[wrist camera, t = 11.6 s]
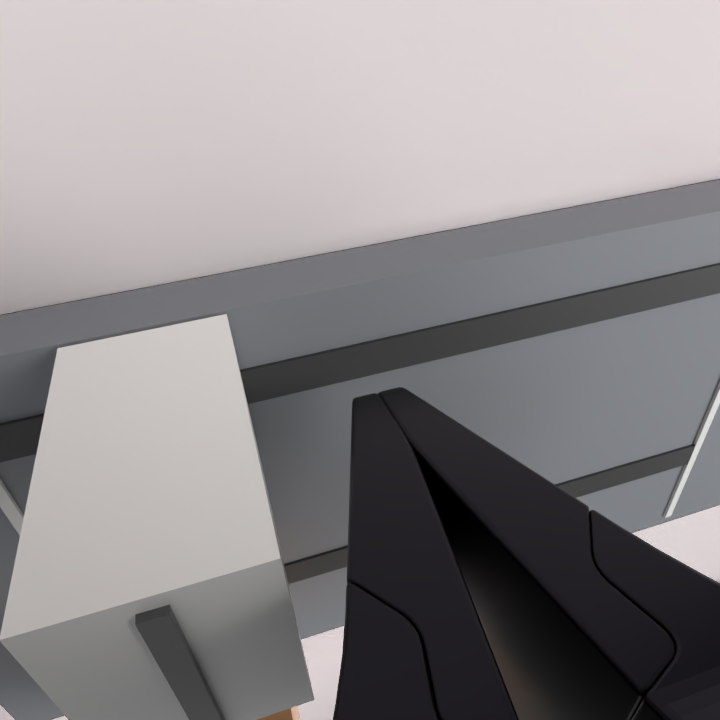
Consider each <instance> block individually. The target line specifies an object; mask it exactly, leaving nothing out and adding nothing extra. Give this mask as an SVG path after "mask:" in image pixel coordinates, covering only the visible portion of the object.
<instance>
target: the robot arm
mask: <svg viewBox="0 0 720 720" xmlns="http://www.w3.org/2000/svg"><path fill="white" fill-rule="evenodd" d="M333 720H720V583H718V582H716V581H715V580H713V579H711V578H709V577H707V576H705V575H703V574H701V573H700V572H698V571H696V570H694V569H692V568H691V567H689V566H687V565H685V564H683V563H682V562H680V561H678V560H676V559H674V558H673V557H671V556H669V555H667V554H665V553H664V552H662V551H660V550H658V549H656V548H655V547H653V546H651V545H650V544H648V543H647V542H645V541H643V540H642V539H640V538H638V537H637V536H635V535H634V534H632V533H630V532H629V531H627V530H625V529H624V528H622V527H620V526H619V525H617V524H616V523H614V522H613V521H611V520H609V519H608V518H606V517H605V516H603V515H602V514H600V513H599V512H597V511H595V510H590V512H589V507H588V506H587V505H586V504H584V503H583V502H581V501H580V500H578V499H576V498H575V497H573V496H572V495H570V494H569V493H567V492H566V491H564V490H562V489H561V488H559V487H558V486H556V485H555V484H553V483H552V482H550V481H548V480H547V479H545V478H544V477H542V476H541V475H539V474H538V473H536V472H534V471H533V470H531V469H530V468H528V467H527V466H525V465H524V464H522V463H520V462H519V461H517V460H516V459H514V458H513V457H511V456H510V455H508V454H506V453H505V452H503V451H502V450H500V449H499V448H497V447H496V446H494V445H492V444H491V443H489V442H488V441H486V440H485V439H483V438H482V437H480V436H479V435H477V434H475V433H474V432H472V431H471V430H469V429H468V428H466V427H465V426H463V425H461V424H460V423H458V422H457V421H455V420H454V419H452V418H451V417H449V416H447V415H446V414H444V413H443V412H441V411H440V410H438V409H437V408H435V407H433V406H432V405H430V404H429V403H427V402H426V401H424V400H423V399H421V398H419V397H418V396H416V395H415V394H413V393H412V392H410V391H409V390H407V389H405V388H402V387H397V388H393V389H389V390H385V391H381V392H379V393H378V394H377V393H372V394H368V395H364V396H360V397H356V398H354V399H353V401H352V421H351V453H350V486H349V519H348V552H347V586H346V607H345V626H344V640H343V655H342V662H341V669H340V676H339V683H338V691H337V698H336V704H335V710H334V716H333Z"/></svg>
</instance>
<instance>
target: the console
mask: <svg viewBox="0 0 720 720" xmlns="http://www.w3.org/2000/svg"><path fill="white" fill-rule="evenodd" d="M224 314H227V317H228V322H229V326H230V330H231V335H232V339H233V343H234V347H235V352H236V356H237V360H238V365H239V369H240V373H241V377H242V382H243V386H244V390H245V395H246V399H247V403H248V407H249V412H250V416H251V420H252V425H253V429H254V433H255V437H256V442H257V446H258V450H259V455H260V459H261V464H262V468H263V473H264V477H265V482H266V486H267V491H268V495H269V499H270V504H271V508H272V513H273V517H274V522H275V526H276V531H277V535H278V540H279V544H280V549H281V553H282V558H283V562H284V567H285V571H286V576H287V580H288V584H289V589H290V593H291V598H292V602H293V607H294V611H295V616H296V620H297V625H298V629H299V634H300V638H301V639H304V638H307V637H310V636H313V635H316V634H319V633H323V632H326V631H329V630H332V629H335V628H338V627H341V626H344V625H345V607H346V586H347V552H348V519H349V486H350V453H351V421H352V401H353V399H354V398H356V397H360V396H364V395H368V394H372V393H377V394H378V393H379V392H381V391H385V390H389V389H393V388H397V387H402V388H405V389H407V390H409V391H410V392H412V393H413V394H415V395H416V396H418V397H419V398H421V399H423V400H424V401H426V402H427V403H429V404H430V405H432V406H433V407H435V408H437V409H438V410H440V411H441V412H443V413H444V414H446V415H447V416H449V417H451V418H452V419H454V420H455V421H457V422H458V423H460V424H461V425H463V426H465V427H466V428H468V429H469V430H471V431H472V432H474V433H475V434H477V435H479V436H480V437H482V438H483V439H485V440H486V441H488V442H489V443H491V444H492V445H494V446H496V447H497V448H499V449H500V450H502V451H503V452H505V453H506V454H508V455H510V456H511V457H513V458H514V459H516V460H517V461H519V462H520V463H522V464H524V465H525V466H527V467H528V468H530V469H531V470H533V471H534V472H536V473H538V474H539V475H541V476H542V477H544V478H545V479H547V480H548V481H550V482H552V483H553V484H555V485H556V486H558V487H559V488H561V489H562V490H564V491H566V492H567V493H569V494H570V495H572V496H573V497H575V498H576V499H578V500H580V501H581V502H583V503H584V504H586V505H587V506H588V507H589V512H590V510H595V511H597V512H599V513H600V514H602V515H603V516H605V517H606V518H608V519H609V520H611V521H613V522H614V523H616V524H617V525H619V526H620V527H622V528H624V529H625V530H627V531H629V532H630V533H634V532H637V531H640V530H643V529H646V528H649V527H653V526H656V525H659V524H662V523H665V522H668V521H671V520H674V519H677V518H681V517H684V516H687V515H690V514H693V513H696V512H699V511H702V510H705V509H709V508H712V507H715V506H718V505H720V179H719V180H713V181H708V182H703V183H698V184H692V185H687V186H682V187H676V188H671V189H666V190H661V191H655V192H650V193H645V194H639V195H634V196H629V197H624V198H618V199H613V200H608V201H602V202H597V203H592V204H587V205H581V206H576V207H571V208H565V209H560V210H555V211H550V212H544V213H539V214H534V215H528V216H523V217H518V218H513V219H507V220H502V221H497V222H491V223H486V224H481V225H475V226H470V227H465V228H460V229H454V230H449V231H444V232H438V233H433V234H428V235H423V236H417V237H412V238H407V239H401V240H396V241H391V242H386V243H380V244H375V245H370V246H364V247H359V248H354V249H349V250H343V251H338V252H333V253H327V254H322V255H317V256H312V257H306V258H301V259H296V260H290V261H285V262H280V263H275V264H269V265H264V266H259V267H253V268H248V269H243V270H237V271H232V272H227V273H222V274H216V275H211V276H206V277H200V278H195V279H190V280H185V281H179V282H174V283H169V284H163V285H158V286H153V287H148V288H142V289H137V290H132V291H126V292H121V293H116V294H111V295H105V296H100V297H95V298H89V299H84V300H79V301H74V302H68V303H63V304H58V305H52V306H47V307H42V308H37V309H31V310H26V311H21V312H15V313H10V314H5V315H0V634H1V629H2V624H3V619H4V614H5V609H6V604H7V599H8V594H9V589H10V584H11V579H12V574H13V569H14V564H15V559H16V554H17V549H18V544H19V539H20V534H21V529H22V524H23V519H24V513H25V509H26V503H27V498H28V493H29V488H30V483H31V478H32V473H33V468H34V463H35V458H36V453H37V448H38V443H39V438H40V433H41V428H42V423H43V418H44V413H45V408H46V403H47V398H48V393H49V388H50V383H51V378H52V373H53V368H54V363H55V358H56V353H57V348H61V347H66V346H71V345H76V344H81V343H86V342H91V341H96V340H101V339H106V338H110V337H115V336H120V335H125V334H130V333H135V332H140V331H145V330H150V329H155V328H160V327H165V326H170V325H174V324H179V323H184V322H189V321H194V320H199V319H204V318H209V317H214V316H219V315H224ZM0 705H1V706H2V707H3V708H4V709H5V710H6V711H7V712H8V713H9V714H10V715H11V716H12V717H13V718H14V719H15V720H52V719H55V718H58V717H61V716H64V714H63V713H62V711H61V710H60V709H59V708H58V707H57V706H56V705H55V703H54V702H53V701H52V700H51V699H50V698H49V697H48V695H47V694H46V693H45V692H44V691H43V690H42V689H41V687H40V686H39V685H38V684H37V683H36V682H35V681H34V679H33V678H32V677H31V676H30V675H29V674H28V673H27V671H26V670H25V669H24V668H23V667H22V666H21V665H20V663H19V662H18V661H17V660H16V659H15V658H14V657H13V656H12V654H11V653H10V652H9V651H8V650H7V649H6V648H5V646H4V645H3V644H2V643H1V642H0Z"/></svg>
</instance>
